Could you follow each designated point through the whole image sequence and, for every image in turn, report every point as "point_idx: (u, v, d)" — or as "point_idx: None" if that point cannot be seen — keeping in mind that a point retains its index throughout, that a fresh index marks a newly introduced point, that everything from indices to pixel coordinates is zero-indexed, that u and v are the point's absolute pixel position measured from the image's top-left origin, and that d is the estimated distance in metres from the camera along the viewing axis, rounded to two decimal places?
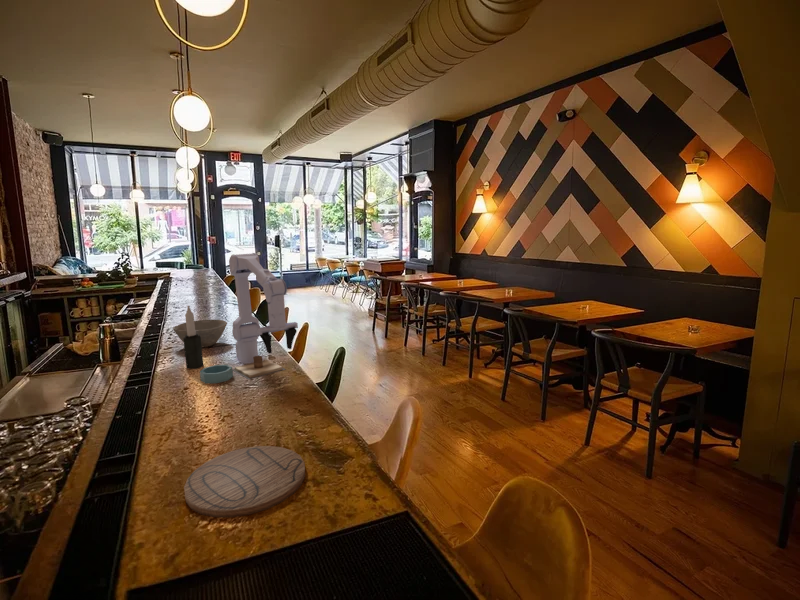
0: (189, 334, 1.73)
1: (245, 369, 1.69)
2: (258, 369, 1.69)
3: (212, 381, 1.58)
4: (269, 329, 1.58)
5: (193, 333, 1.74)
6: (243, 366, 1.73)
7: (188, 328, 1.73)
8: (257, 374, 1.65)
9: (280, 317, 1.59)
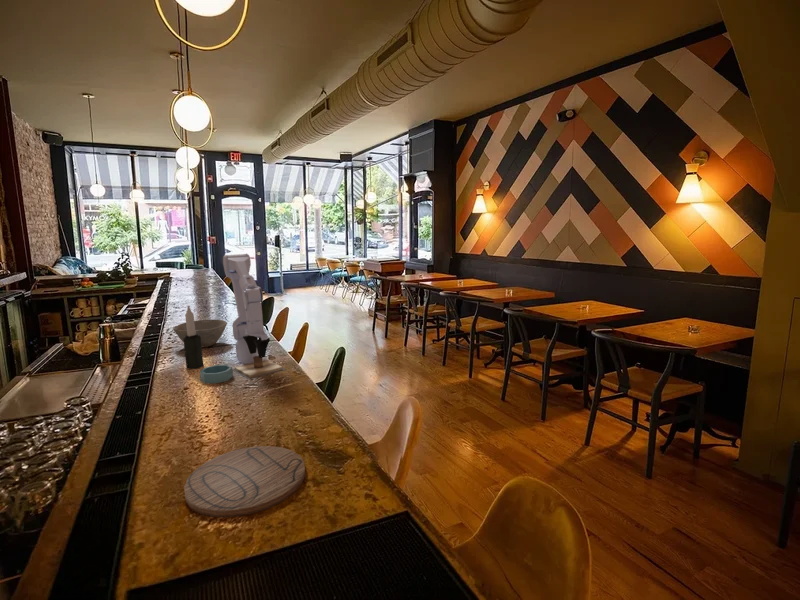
0: (189, 334, 1.73)
1: (245, 369, 1.69)
2: (258, 369, 1.69)
3: (212, 381, 1.58)
4: (246, 331, 1.71)
5: (193, 333, 1.74)
6: (243, 366, 1.73)
7: (188, 328, 1.73)
8: (257, 374, 1.65)
9: (248, 324, 1.67)
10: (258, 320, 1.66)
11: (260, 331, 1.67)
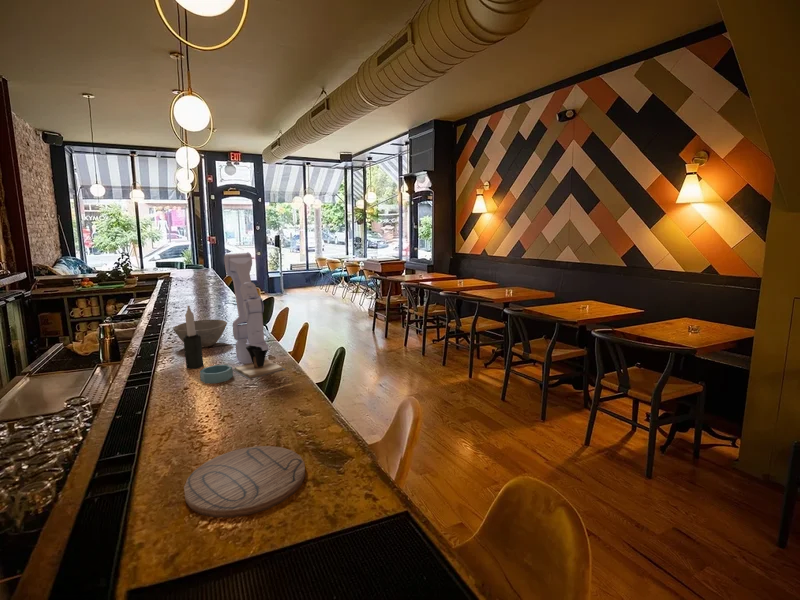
0: (189, 334, 1.73)
1: (245, 369, 1.69)
2: (258, 369, 1.69)
3: (212, 381, 1.58)
4: (247, 341, 1.72)
5: (193, 333, 1.74)
6: (243, 366, 1.73)
7: (188, 328, 1.73)
8: (257, 374, 1.65)
9: (249, 334, 1.67)
10: (259, 330, 1.67)
11: (261, 341, 1.68)
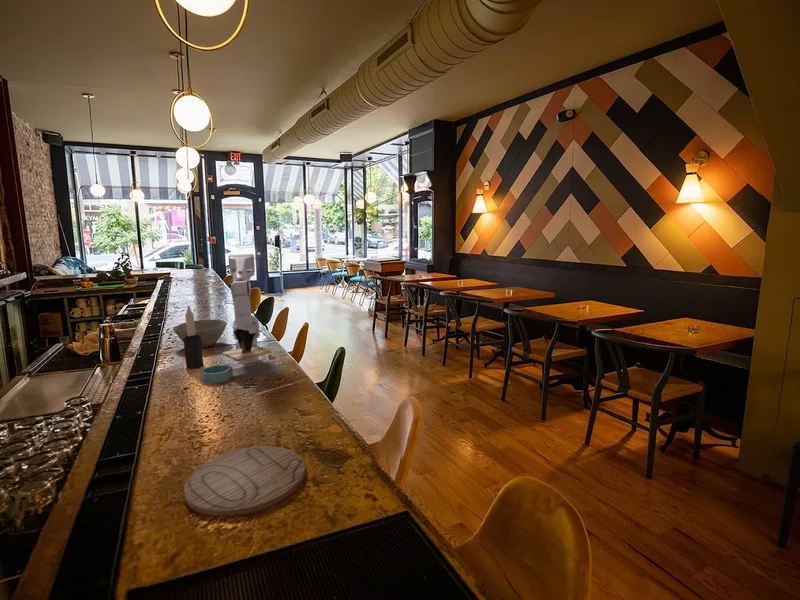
0: (189, 334, 1.73)
1: (233, 354, 1.65)
2: (246, 353, 1.65)
3: (212, 381, 1.58)
4: (234, 325, 1.68)
5: (193, 333, 1.74)
6: (231, 351, 1.69)
7: (188, 328, 1.73)
8: (245, 358, 1.61)
9: (236, 317, 1.64)
10: (244, 313, 1.63)
11: (248, 324, 1.65)
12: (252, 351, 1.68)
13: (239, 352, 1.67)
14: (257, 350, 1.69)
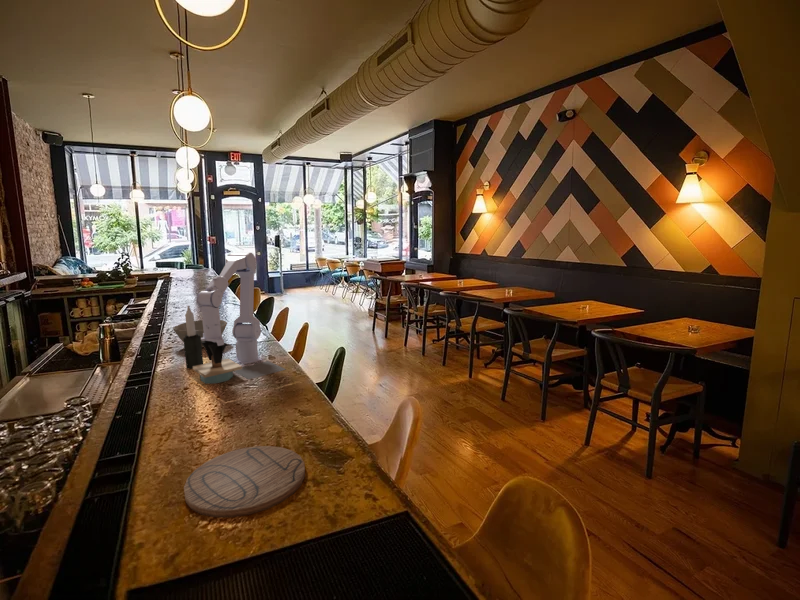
0: (189, 334, 1.73)
1: (202, 369, 1.60)
2: (216, 368, 1.60)
3: (212, 381, 1.58)
4: None
5: (193, 333, 1.74)
6: (201, 365, 1.64)
7: (188, 328, 1.73)
8: (213, 374, 1.56)
9: (204, 328, 1.58)
10: (208, 325, 1.57)
11: (217, 336, 1.59)
12: (223, 366, 1.62)
13: (209, 367, 1.62)
14: (228, 365, 1.63)
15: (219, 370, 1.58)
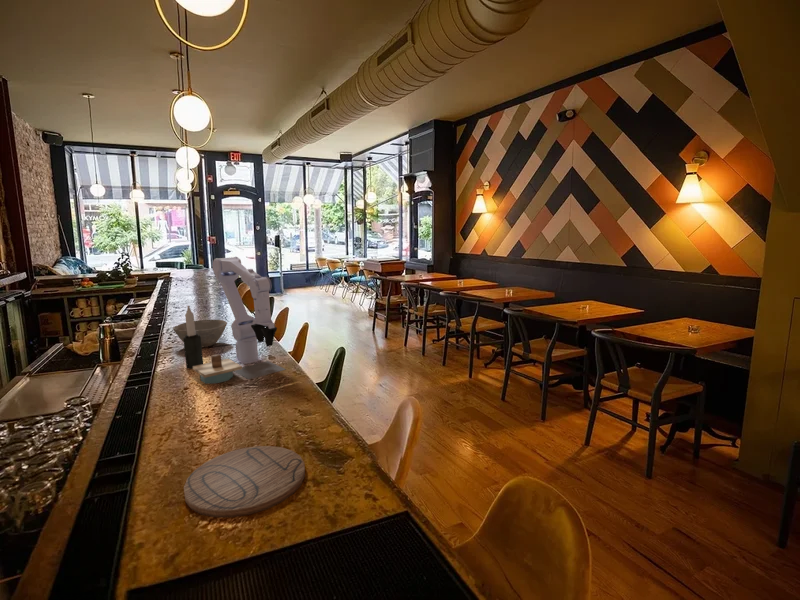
0: (189, 334, 1.73)
1: (202, 369, 1.60)
2: (216, 368, 1.60)
3: (212, 381, 1.58)
4: (254, 320, 1.75)
5: (193, 333, 1.74)
6: (201, 365, 1.64)
7: (188, 328, 1.73)
8: (213, 374, 1.56)
9: (256, 313, 1.70)
10: (268, 309, 1.71)
11: (267, 320, 1.71)
12: (223, 366, 1.62)
13: (209, 367, 1.62)
14: (228, 365, 1.63)
15: (219, 370, 1.58)
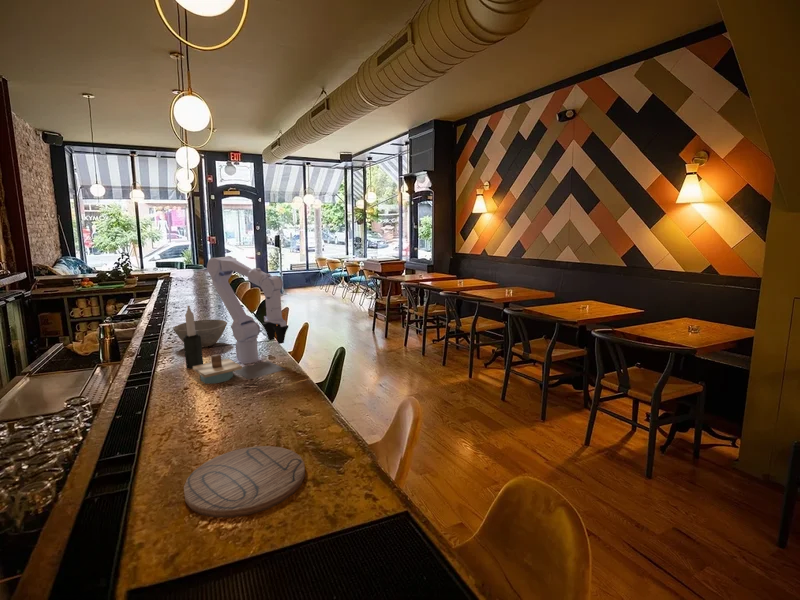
0: (189, 334, 1.73)
1: (202, 369, 1.60)
2: (216, 368, 1.60)
3: (212, 381, 1.58)
4: (265, 318, 1.78)
5: (193, 333, 1.74)
6: (201, 365, 1.64)
7: (188, 328, 1.73)
8: (213, 374, 1.56)
9: (267, 311, 1.74)
10: (280, 307, 1.75)
11: (279, 318, 1.74)
12: (223, 366, 1.62)
13: (209, 367, 1.62)
14: (228, 365, 1.63)
15: (219, 370, 1.58)
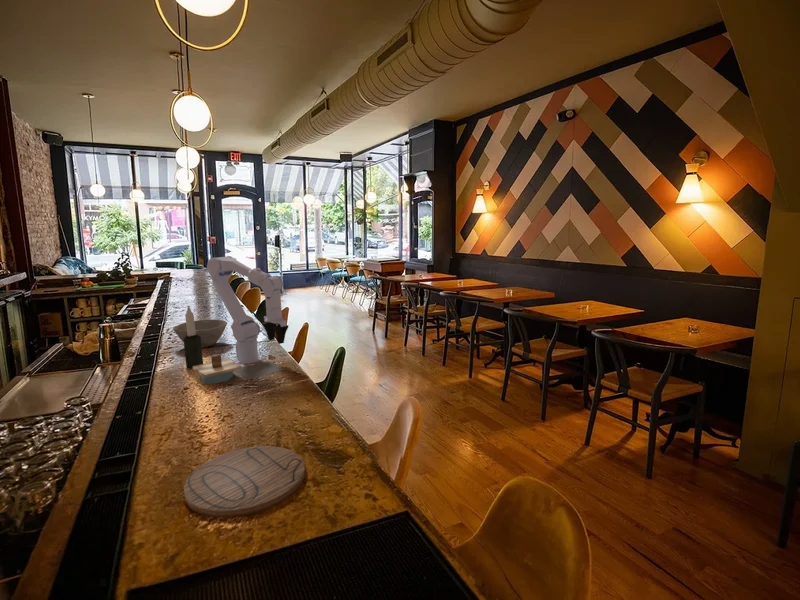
0: (189, 334, 1.73)
1: (202, 369, 1.60)
2: (216, 368, 1.60)
3: (212, 381, 1.58)
4: (265, 318, 1.78)
5: (193, 333, 1.74)
6: (201, 365, 1.64)
7: (188, 328, 1.73)
8: (213, 374, 1.56)
9: (267, 311, 1.74)
10: (280, 307, 1.75)
11: (279, 318, 1.74)
12: (223, 366, 1.62)
13: (209, 367, 1.62)
14: (228, 365, 1.63)
15: (219, 370, 1.58)
